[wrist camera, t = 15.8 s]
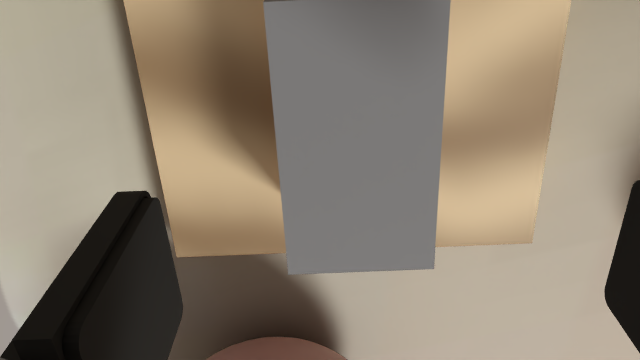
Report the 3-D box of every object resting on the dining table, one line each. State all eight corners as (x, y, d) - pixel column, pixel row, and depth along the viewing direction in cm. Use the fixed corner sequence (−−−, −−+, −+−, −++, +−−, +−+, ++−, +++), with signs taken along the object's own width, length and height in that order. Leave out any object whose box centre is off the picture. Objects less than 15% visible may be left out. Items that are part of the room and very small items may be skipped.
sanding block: (276, -20, 19) (263, 2, 14) (419, -27, 18) (451, -8, 14) (294, 203, 23) (288, 274, 18) (411, 198, 22) (433, 269, 18)
